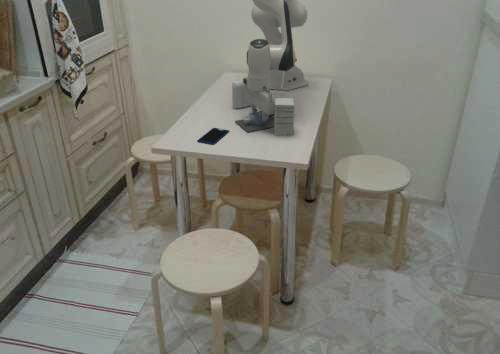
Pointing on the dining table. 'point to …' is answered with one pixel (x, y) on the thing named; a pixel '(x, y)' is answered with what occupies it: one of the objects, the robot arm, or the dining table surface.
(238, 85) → the photo printer
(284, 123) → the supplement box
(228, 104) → the dining table surface
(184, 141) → the dining table surface
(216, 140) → the cell phone
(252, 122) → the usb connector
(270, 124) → the rubber mat
